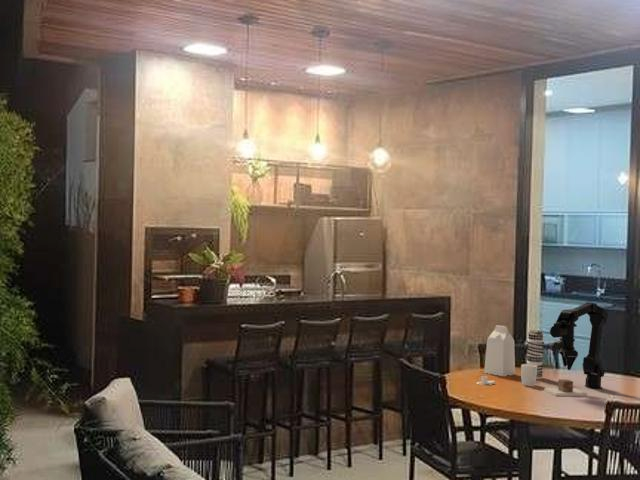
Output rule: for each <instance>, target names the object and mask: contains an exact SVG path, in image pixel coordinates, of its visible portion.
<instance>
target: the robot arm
mask: <svg viewBox="0 0 640 480" xmlns="http://www.w3.org/2000/svg"><path fill="white" fill-rule="evenodd" d="M584 315H588V316H589V322H590V325H591V331H590V340H589V348H588V354H587V355H586V356H584V357H583V359H582V360H583V361H582V370H583V374H584V375H586V377H585V384H584V387H586V388H589V389H603V387H602V378H603V377H605V370H604V369H603V366H602V360H601V358H600V349H601V342H602V341H601V340H602V333H603V327H604V326H605V325H606V324H607V321H608V318H609V314H608V311H607V310H606V309H604V308H603V307H601V306H599V305H598V304H597V303H595V302H591V301H587V302H585V303H584V304H582V305H579V306H577V307H573V308H571V309H562V310H561V311H560V313H559V315H558V317H557V319H556V320H555V322H554V323H553V326H552V327H551V328H550V329H549V334H550V336H552V338H554V339H556V338H559V340H558V341H557V340H556V341H554V342H551V343H549V344H548V346H549V348H550V350H551V351H552V352H555V351H557V353H559V354H560V356H561V360H562V365H563V367H567V370H568V371H570V370H571V369H572V367H573V365H574V363H575V361H576V360H577V358H578V356H579V352H578V351H577V350H576V347H574V346H575V345H574V343H575V341H576V339H575V327H578V326H577V323H576V322H577V321H578V320H579V319H580V317H582V316H584Z"/></svg>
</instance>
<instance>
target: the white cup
mask: <svg viewBox="0 0 640 480" xmlns="http://www.w3.org/2000/svg"><path fill="white" fill-rule="evenodd" d="M520 371H521V375H520V376H521V377H520V378H521V385H522V386H525V387H535V386H536V382H537V379H536V376H537V365H532V364H527V363H523V364H521V365H520Z"/></svg>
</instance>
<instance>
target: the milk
mask: <svg viewBox="0 0 640 480" xmlns="http://www.w3.org/2000/svg"><path fill="white" fill-rule="evenodd" d="M486 339H487V340H486V349H485V360H484V361H485V362H484V370H483V373H484V374H486V373H488V374H487V375H492V374H493V376H497V375H498V377H507V375H509V376H513V374H514V375H516V366H515V365H516V362H515V361H516V360H515V358H516V357H515V356H516V355H515V350H516V349H515V339H514V338H513V336H512V335H511V333H510V332H509V329H508V327H507V326H506V325H497V324H496V325H495V327H494V329H493V331H492V332H491V333H490V334H489V336H488V338H486Z"/></svg>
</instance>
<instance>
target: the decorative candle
mask: <svg viewBox="0 0 640 480" xmlns="http://www.w3.org/2000/svg"><path fill="white" fill-rule="evenodd" d="M527 334H528V338H527V340H526V350H527V351H526V356H527V360H526V364H532V365H537V376H536V380H541V379H543V373H544V371H543V370H544V369H543V366H544V365H543V357H544V355H543V354H545V353H544V347H545V342H544V333H543V332H542V331H541V330H535V329H534V330H533V329H531V330H530V331H529V332H528V333H527Z"/></svg>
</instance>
